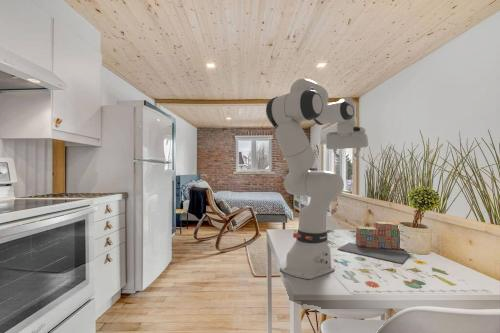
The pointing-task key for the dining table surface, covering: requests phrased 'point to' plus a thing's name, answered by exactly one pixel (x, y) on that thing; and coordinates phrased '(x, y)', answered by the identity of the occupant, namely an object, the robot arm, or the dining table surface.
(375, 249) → the charcoal rubber mat
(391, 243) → the stack of blocks
